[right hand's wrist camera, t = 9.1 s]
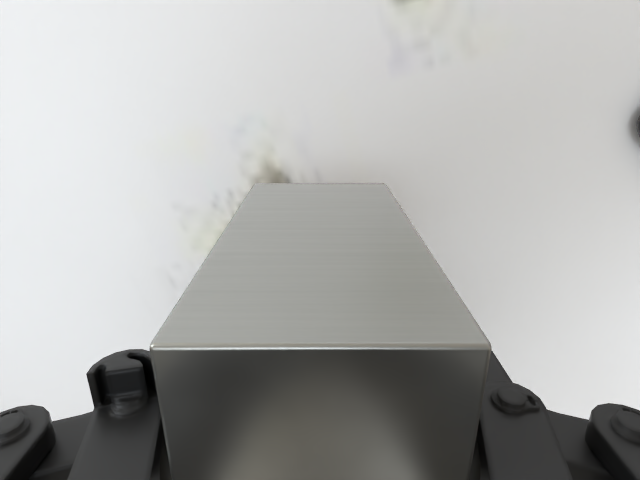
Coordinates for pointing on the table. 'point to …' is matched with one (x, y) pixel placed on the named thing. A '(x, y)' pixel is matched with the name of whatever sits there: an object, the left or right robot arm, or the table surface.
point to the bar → (320, 347)
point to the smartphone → (638, 126)
